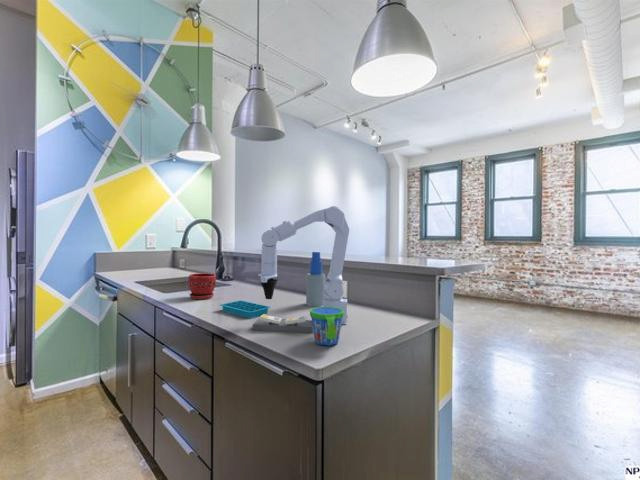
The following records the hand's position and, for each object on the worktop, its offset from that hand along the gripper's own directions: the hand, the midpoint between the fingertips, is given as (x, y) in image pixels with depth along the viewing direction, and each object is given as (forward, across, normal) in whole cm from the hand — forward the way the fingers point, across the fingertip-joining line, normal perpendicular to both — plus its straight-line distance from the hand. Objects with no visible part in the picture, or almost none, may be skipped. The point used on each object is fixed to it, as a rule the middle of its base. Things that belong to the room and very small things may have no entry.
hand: (268, 298), depth 118 cm
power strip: (+9, +4, +7) cm, 12 cm away
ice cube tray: (+10, -14, -14) cm, 23 cm away
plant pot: (+10, -38, -46) cm, 60 cm away
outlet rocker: (+6, +6, +3) cm, 9 cm away
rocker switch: (+6, +6, +12) cm, 14 cm away
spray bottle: (+9, -34, +13) cm, 37 cm away
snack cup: (+10, +17, +23) cm, 30 cm away
